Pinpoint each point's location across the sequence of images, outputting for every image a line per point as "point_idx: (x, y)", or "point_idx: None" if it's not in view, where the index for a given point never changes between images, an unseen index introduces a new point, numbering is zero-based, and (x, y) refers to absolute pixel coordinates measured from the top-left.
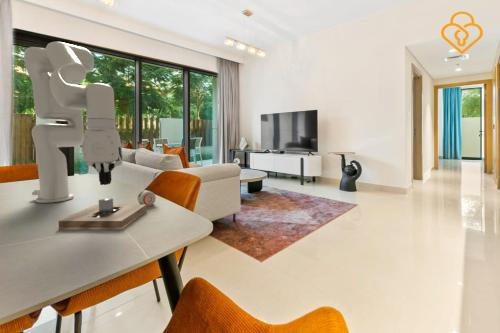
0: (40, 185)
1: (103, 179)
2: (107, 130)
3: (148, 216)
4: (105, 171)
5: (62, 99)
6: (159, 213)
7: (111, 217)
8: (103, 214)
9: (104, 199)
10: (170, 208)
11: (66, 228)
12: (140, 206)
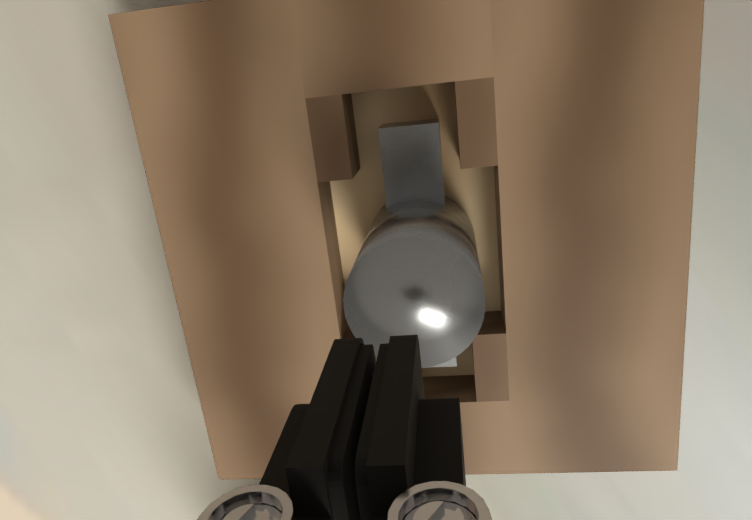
0: None
1: (347, 377)
2: None
3: (151, 330)
4: (272, 497)
5: None
6: (117, 401)
7: (260, 100)
8: (410, 201)
9: (433, 310)
10: (113, 513)
11: None
12: (229, 425)
